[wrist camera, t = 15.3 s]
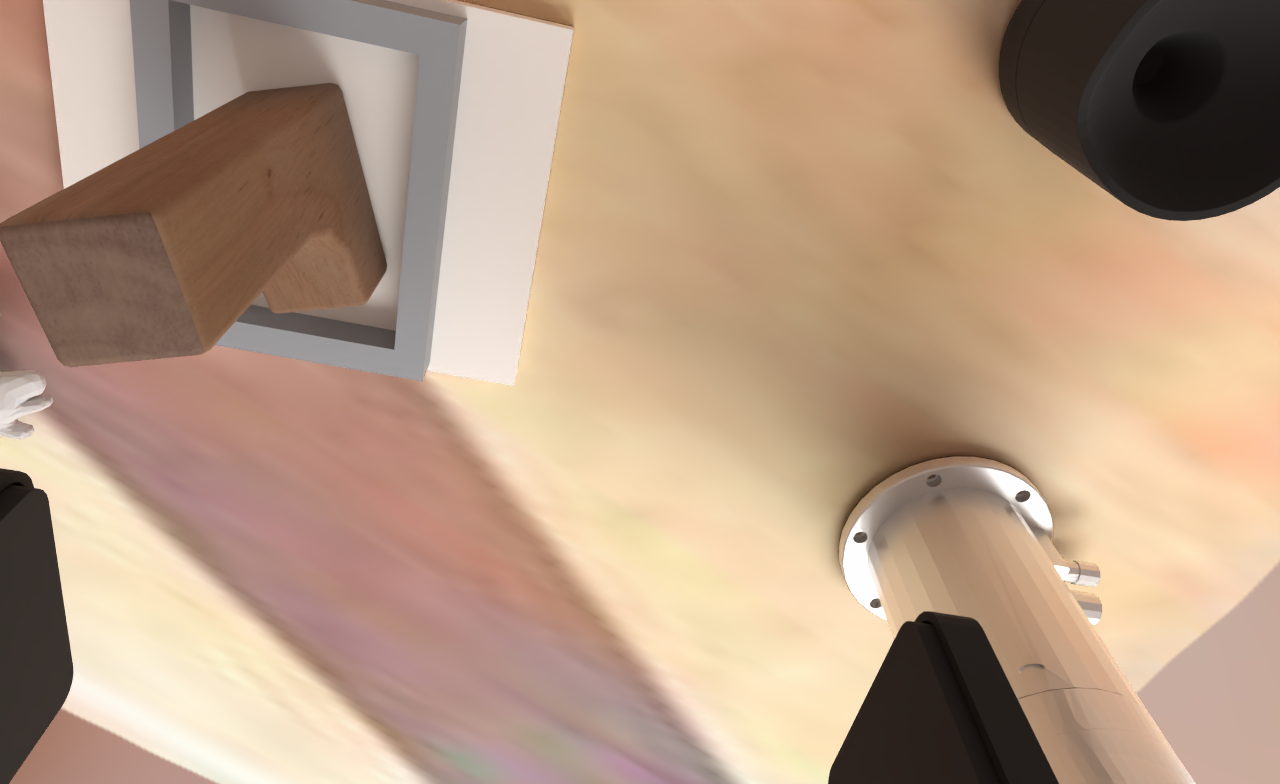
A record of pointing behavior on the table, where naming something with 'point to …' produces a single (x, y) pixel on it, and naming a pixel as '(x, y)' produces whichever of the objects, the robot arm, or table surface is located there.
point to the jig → (386, 142)
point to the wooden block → (203, 232)
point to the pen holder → (1153, 97)
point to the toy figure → (20, 401)
